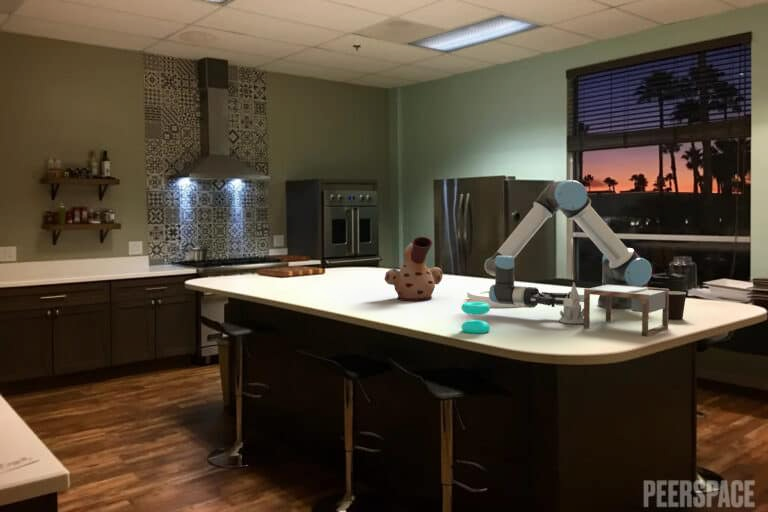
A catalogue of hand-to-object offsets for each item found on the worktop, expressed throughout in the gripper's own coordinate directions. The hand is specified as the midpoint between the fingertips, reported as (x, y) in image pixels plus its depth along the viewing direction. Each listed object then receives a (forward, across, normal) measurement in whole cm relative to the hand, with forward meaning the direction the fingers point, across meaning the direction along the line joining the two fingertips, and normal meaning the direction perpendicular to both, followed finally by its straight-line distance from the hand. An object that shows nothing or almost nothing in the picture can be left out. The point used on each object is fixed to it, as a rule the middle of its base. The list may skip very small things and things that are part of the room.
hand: (579, 300), depth 243 cm
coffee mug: (+25, -31, -9) cm, 41 cm away
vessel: (-87, -15, -8) cm, 88 cm away
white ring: (-49, -29, -9) cm, 58 cm away
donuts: (-23, +36, -8) cm, 44 cm away
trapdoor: (+17, +1, -1) cm, 17 cm away
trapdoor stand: (+16, +1, -8) cm, 18 cm away
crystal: (-3, 0, -8) cm, 9 cm away
